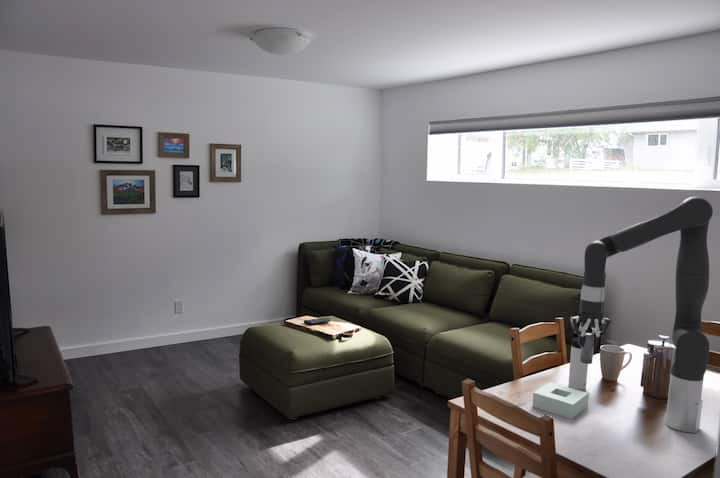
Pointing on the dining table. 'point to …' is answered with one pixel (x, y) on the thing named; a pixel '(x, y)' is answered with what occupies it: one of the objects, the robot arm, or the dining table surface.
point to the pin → (587, 348)
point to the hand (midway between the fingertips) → (587, 346)
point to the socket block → (560, 400)
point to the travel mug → (577, 368)
